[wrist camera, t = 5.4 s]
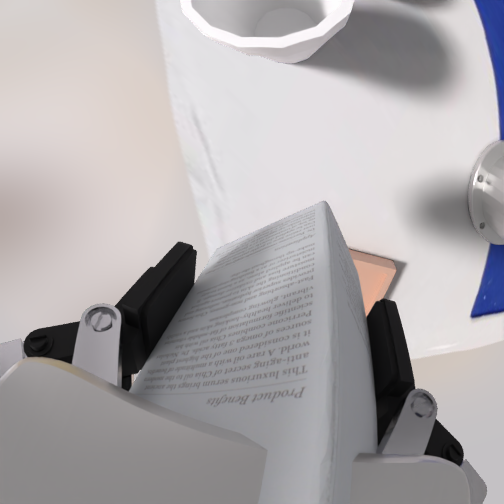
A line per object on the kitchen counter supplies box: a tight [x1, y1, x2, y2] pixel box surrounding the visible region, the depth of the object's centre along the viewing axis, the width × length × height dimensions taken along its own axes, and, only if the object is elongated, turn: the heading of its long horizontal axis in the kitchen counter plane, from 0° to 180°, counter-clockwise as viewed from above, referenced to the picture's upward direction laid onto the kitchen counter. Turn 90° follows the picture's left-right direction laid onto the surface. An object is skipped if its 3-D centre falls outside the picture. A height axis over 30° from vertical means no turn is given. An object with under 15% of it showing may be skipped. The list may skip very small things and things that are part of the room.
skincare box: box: [129, 201, 378, 504], centre depth 8 cm, size 6×4×12 cm
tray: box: [348, 249, 396, 317], centre depth 31 cm, size 12×11×2 cm
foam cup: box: [180, 0, 354, 64], centre depth 14 cm, size 10×9×13 cm
